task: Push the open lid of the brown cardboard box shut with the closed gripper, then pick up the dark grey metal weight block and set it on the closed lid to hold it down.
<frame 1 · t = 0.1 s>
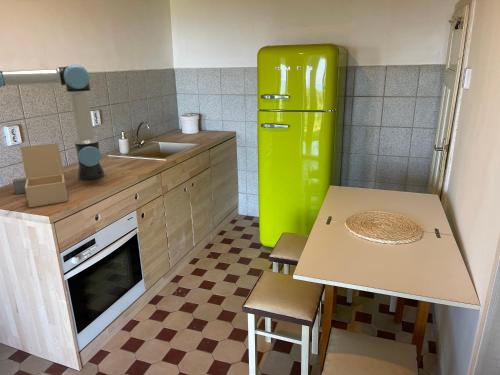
weight block: (24, 191, 204), on the kitchen counter
box: (49, 199, 191), on the kitchen counter
lid: (42, 160, 195), point 18 cm above the kitchen counter, hinge at 110.0°
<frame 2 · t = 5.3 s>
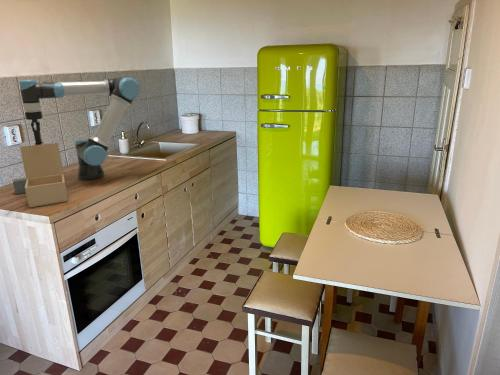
hand: (41, 156, 199), 19 cm above the kitchen counter, tool pointing down, fingers closed
lid: (42, 160, 194), point 18 cm above the kitchen counter, hinge at 105.2°, touching gripper
everything else where it was.
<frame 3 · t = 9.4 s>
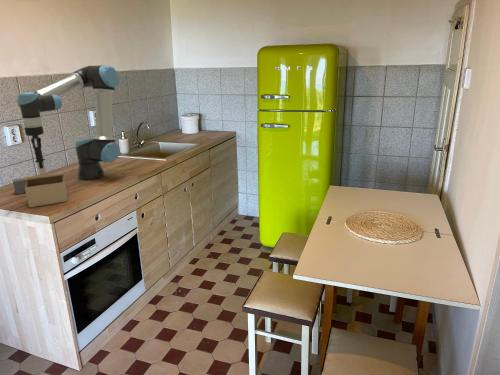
hand: (42, 174, 184), 14 cm above the kitchen counter, tool pointing down, fingers closed
lid: (44, 175, 187), point 12 cm above the kitchen counter, hinge at 12.5°, touching gripper
everything else where it was.
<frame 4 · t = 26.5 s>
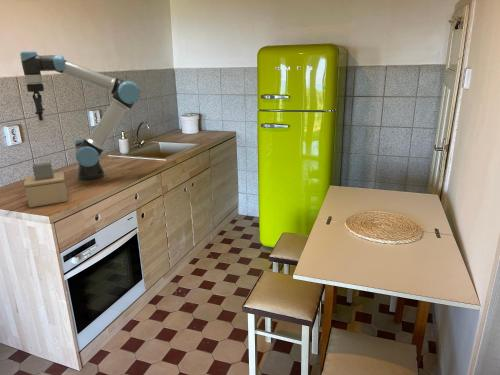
hand: (42, 125, 199), 35 cm above the kitchen counter, tool pointing down, fingers open, 13 cm apart
weight block: (44, 178, 187), point 11 cm above the kitchen counter, touching lid
lid: (44, 179, 187), point 11 cm above the kitchen counter, hinge at 1.0°, touching weight block
at the end: lid at +1° (first picture: +110°); weight block inside the target area on the box (0.0 cm from its centre), point 11.3 cm above the box's base; weight block tilted 1° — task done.
